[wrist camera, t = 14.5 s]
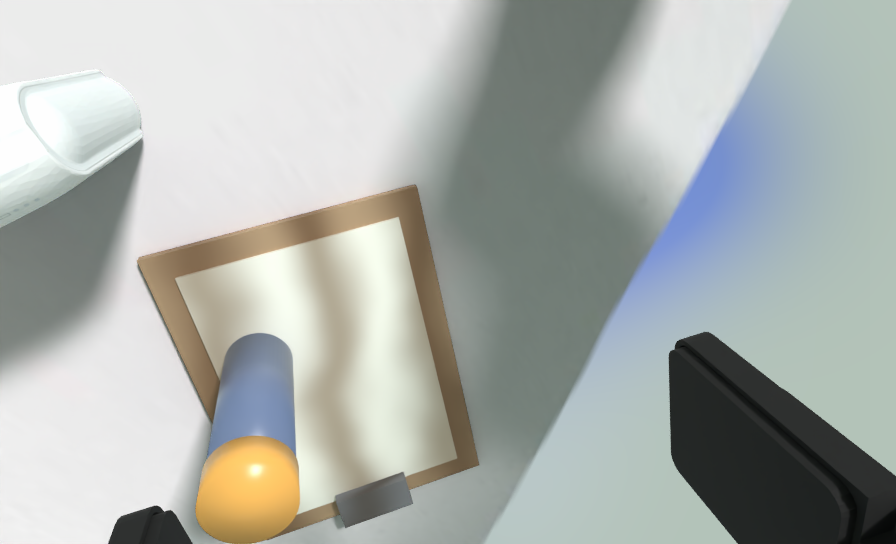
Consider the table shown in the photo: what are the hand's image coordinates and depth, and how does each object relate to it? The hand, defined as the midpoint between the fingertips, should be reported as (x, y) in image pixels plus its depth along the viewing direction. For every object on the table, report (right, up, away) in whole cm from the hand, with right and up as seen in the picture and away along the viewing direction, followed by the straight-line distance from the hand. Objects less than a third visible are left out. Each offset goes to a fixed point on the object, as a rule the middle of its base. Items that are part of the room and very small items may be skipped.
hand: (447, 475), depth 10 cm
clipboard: (-8, -3, +27) cm, 28 cm away
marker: (-12, -2, +24) cm, 27 cm away
